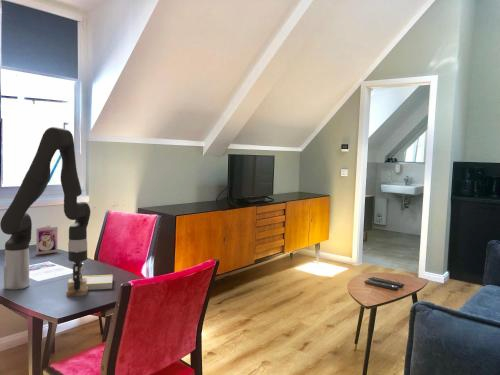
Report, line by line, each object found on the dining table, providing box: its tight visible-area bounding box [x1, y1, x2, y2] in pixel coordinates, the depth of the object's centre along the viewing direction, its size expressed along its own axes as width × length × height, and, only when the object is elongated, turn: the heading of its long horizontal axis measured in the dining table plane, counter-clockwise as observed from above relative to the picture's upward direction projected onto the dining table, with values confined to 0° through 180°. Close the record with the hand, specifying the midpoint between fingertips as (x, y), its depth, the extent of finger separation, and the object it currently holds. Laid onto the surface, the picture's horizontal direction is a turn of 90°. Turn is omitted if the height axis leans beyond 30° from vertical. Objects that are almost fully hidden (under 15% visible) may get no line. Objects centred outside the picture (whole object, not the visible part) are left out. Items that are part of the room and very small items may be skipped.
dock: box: [82, 274, 114, 291], centre depth 187 cm, size 14×12×3 cm
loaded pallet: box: [65, 278, 89, 297], centre depth 175 cm, size 8×5×6 cm, turn 107°
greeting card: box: [35, 225, 58, 255], centre depth 240 cm, size 11×7×15 cm, turn 132°
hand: (78, 286), depth 175 cm, fingers open, 8 cm apart
